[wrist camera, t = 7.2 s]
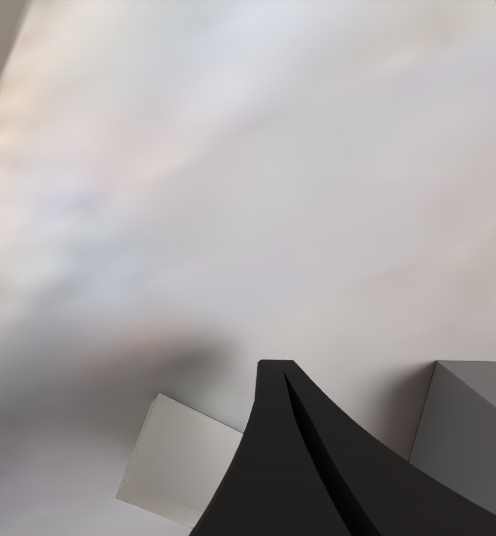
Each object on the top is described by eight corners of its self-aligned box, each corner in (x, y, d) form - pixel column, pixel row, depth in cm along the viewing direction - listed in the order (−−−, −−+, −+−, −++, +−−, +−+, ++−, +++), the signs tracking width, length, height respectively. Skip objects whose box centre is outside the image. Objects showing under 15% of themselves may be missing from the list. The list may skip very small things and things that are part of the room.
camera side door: (159, 392, 13) (126, 482, 9) (399, 511, 16) (456, 616, 12) (146, 410, 13) (109, 505, 9) (386, 523, 16) (438, 631, 12)
